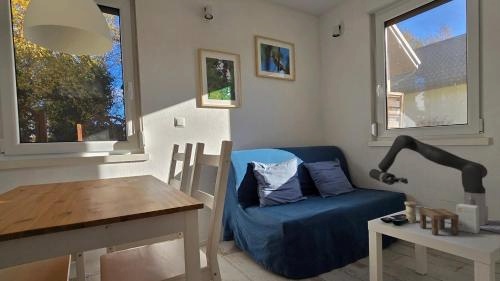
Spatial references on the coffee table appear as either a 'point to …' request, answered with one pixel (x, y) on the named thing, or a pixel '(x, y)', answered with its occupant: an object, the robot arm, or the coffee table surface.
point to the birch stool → (411, 211)
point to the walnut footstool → (438, 219)
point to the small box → (468, 218)
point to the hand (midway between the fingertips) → (399, 182)
